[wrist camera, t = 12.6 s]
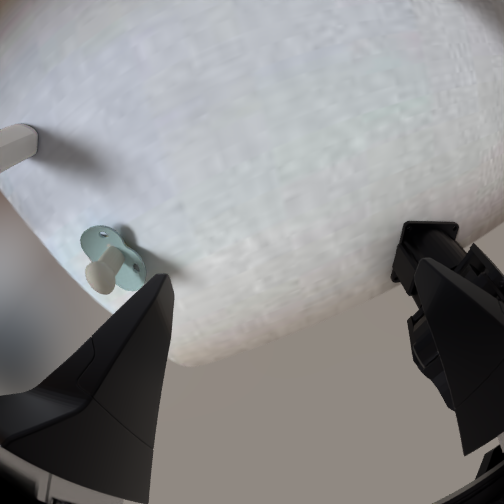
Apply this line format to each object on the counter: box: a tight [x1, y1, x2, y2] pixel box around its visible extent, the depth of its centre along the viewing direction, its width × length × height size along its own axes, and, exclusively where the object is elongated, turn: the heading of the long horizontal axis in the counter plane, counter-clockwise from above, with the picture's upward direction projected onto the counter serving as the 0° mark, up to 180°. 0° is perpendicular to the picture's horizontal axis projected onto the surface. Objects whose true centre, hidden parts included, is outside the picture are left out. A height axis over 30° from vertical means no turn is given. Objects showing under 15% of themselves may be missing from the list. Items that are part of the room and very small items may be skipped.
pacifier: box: [80, 225, 146, 295], centre depth 22 cm, size 7×6×6 cm
